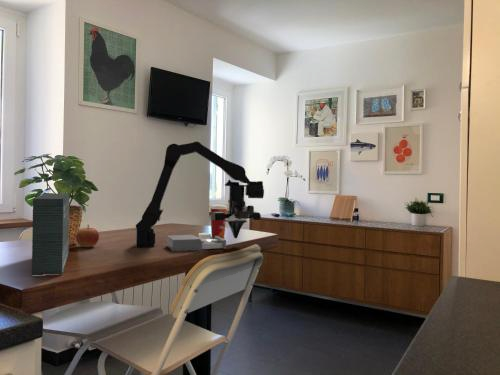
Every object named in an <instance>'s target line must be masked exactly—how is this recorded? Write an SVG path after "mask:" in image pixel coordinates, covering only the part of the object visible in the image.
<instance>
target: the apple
mask: <svg viewBox="0 0 500 375" xmlns="http://www.w3.org/2000/svg"><path fill="white" fill-rule="evenodd" d="M99 233H100V232H98V230H97V229H96V228H93V227H90V225H89V224H87V227H80V228H79V229H78V230H77V231H76V233H75V236H74V238H75V241H76V243H77V245H78V246H80V247H81V248H82V247H83V248H91V247H94V246H96V245H97V243H98V242H99V240H100V234H99Z"/></svg>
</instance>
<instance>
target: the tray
mask: <svg viewBox="0 0 500 375" xmlns="http://www.w3.org/2000/svg"><path fill="white" fill-rule="evenodd" d="M214 239H216V240H218V243H212V244H202V250H211V249H227V240H226V239H224V238H220V237H218V236H215V238H214Z"/></svg>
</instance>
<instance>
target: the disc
mask: <svg viewBox="0 0 500 375" xmlns="http://www.w3.org/2000/svg"><path fill="white" fill-rule="evenodd" d="M201 240H202V244H212V243H218V240H216V239H215V238H214V239H213V238H211V239H201Z"/></svg>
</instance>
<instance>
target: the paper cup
mask: <svg viewBox="0 0 500 375" xmlns="http://www.w3.org/2000/svg"><path fill="white" fill-rule="evenodd" d="M212 212H223V213H225V214H227V213H228V207H227V205H226V204H225V205H224V204H223V205H222V204H211V205H210V215H211V214H212ZM225 220H226V218H225V219H224V220H213V219H211V218H210V221H211V223H210V230H211V238H214V239H215V236H218V237H220V238H222V239H224V238H225V235H226V222H227V221H225Z"/></svg>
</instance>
